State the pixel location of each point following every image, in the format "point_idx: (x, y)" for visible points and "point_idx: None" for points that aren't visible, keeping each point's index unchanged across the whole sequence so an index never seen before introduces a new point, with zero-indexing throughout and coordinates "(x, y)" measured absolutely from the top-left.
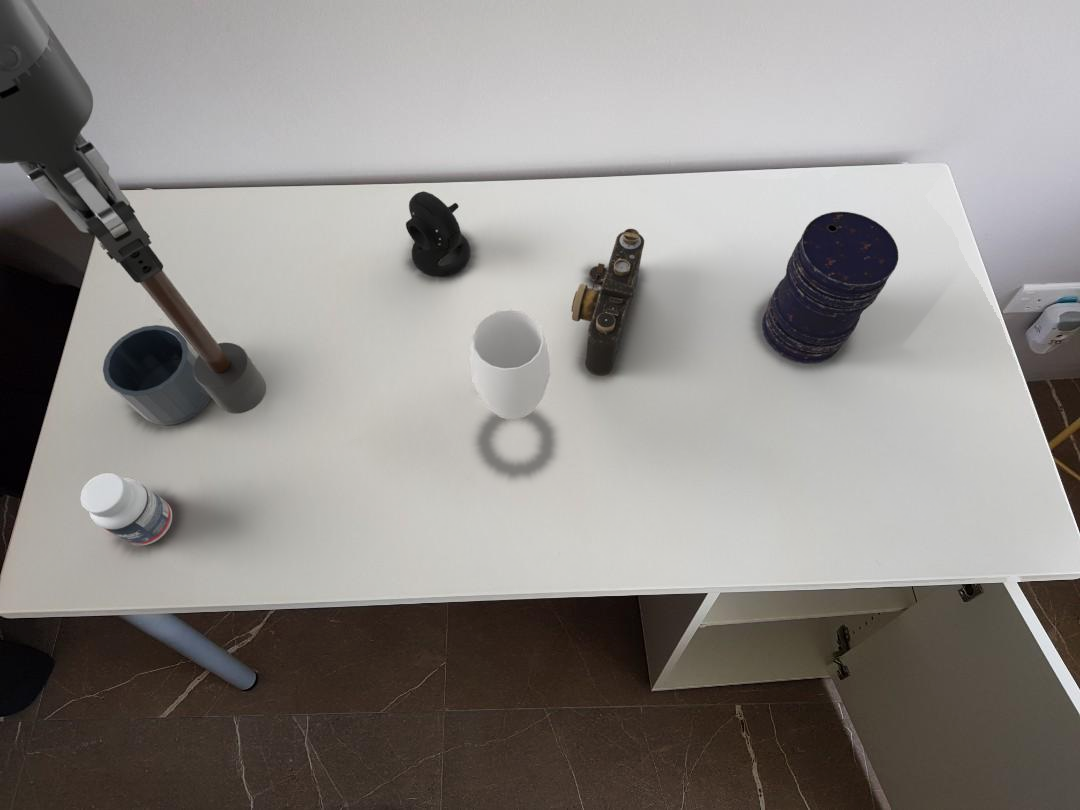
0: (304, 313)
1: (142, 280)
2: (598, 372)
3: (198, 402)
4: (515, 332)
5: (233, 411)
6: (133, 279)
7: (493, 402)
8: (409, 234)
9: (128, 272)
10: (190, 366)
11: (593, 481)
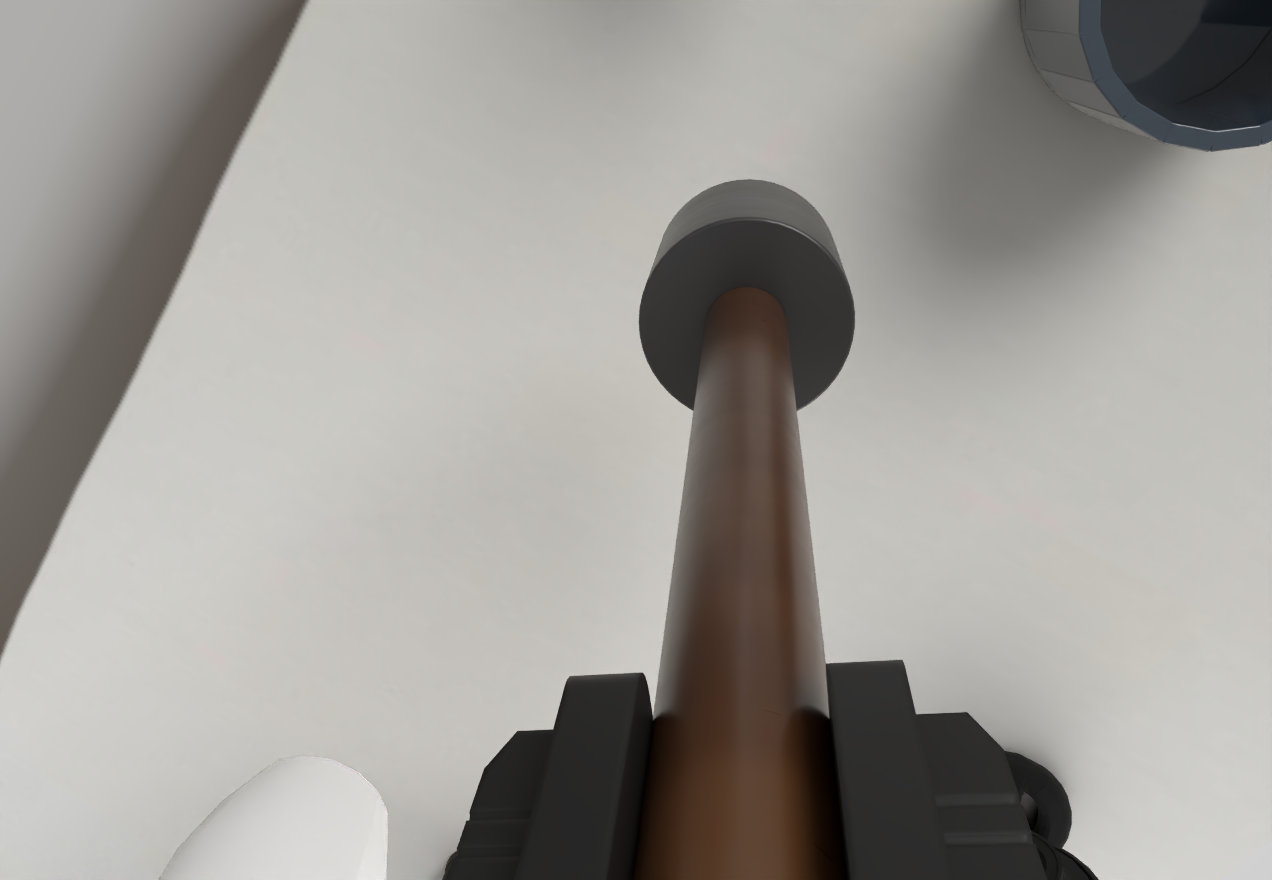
0: (1101, 452)
1: (514, 737)
2: (452, 861)
3: (1034, 43)
4: None
5: (674, 218)
6: (566, 695)
7: (198, 838)
8: (1045, 839)
9: (546, 757)
10: (1107, 110)
11: (242, 704)
